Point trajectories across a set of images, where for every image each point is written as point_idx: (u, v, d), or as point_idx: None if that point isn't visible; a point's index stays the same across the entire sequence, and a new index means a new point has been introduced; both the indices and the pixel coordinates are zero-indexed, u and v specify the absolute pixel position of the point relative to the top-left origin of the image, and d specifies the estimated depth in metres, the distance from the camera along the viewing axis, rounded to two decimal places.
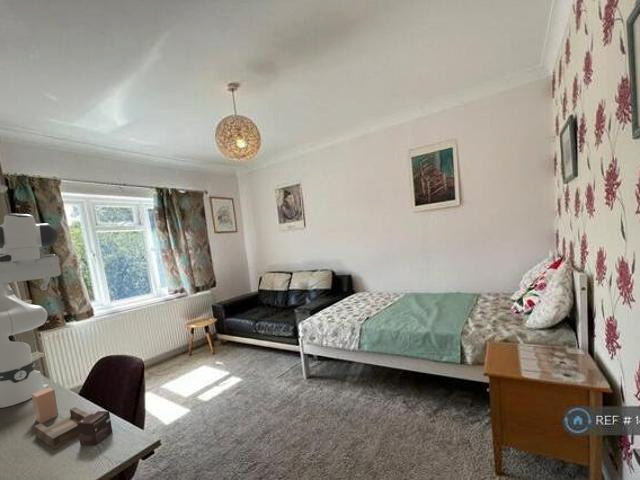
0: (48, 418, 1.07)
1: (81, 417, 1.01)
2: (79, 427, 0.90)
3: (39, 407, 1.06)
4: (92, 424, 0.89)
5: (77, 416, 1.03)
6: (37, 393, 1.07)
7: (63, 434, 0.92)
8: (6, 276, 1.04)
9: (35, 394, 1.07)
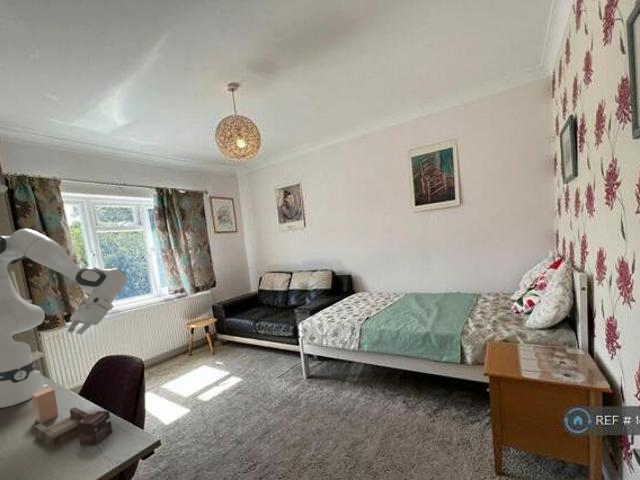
0: (48, 418, 1.07)
1: (81, 417, 1.01)
2: (79, 427, 0.90)
3: (39, 407, 1.06)
4: (92, 424, 0.89)
5: (77, 416, 1.03)
6: (37, 393, 1.07)
7: (63, 434, 0.92)
8: None
9: (35, 394, 1.07)
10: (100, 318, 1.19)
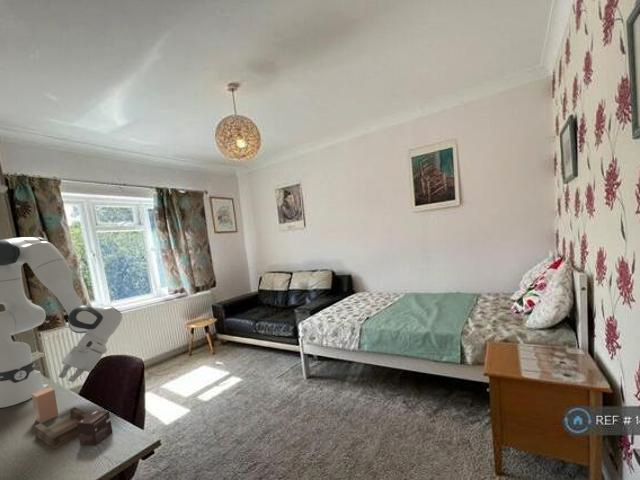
0: (48, 418, 1.07)
1: (81, 417, 1.01)
2: (79, 427, 0.90)
3: (39, 407, 1.06)
4: (92, 424, 0.89)
5: (77, 416, 1.03)
6: (37, 393, 1.07)
7: (63, 434, 0.92)
8: None
9: (35, 394, 1.07)
10: (93, 364, 1.14)
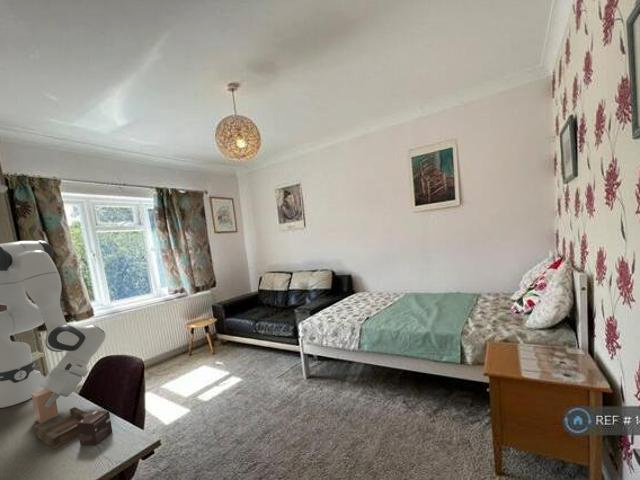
0: (48, 418, 1.07)
1: (81, 417, 1.01)
2: (79, 427, 0.90)
3: (39, 407, 1.06)
4: (92, 424, 0.89)
5: (77, 416, 1.03)
6: (37, 393, 1.07)
7: (63, 434, 0.92)
8: None
9: (35, 394, 1.07)
10: (72, 389, 1.08)
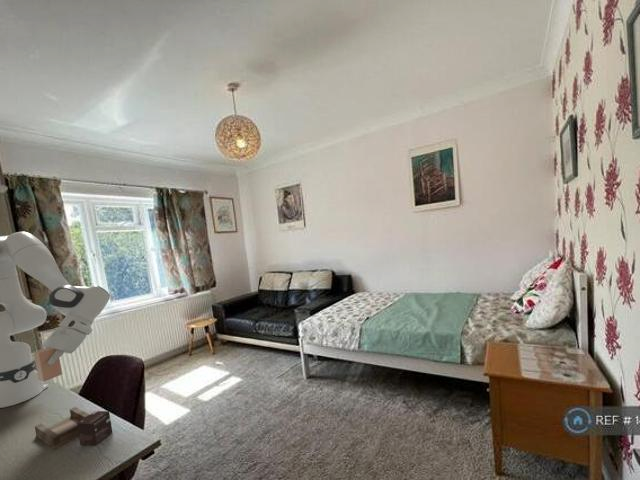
0: (51, 376, 1.02)
1: (81, 417, 1.01)
2: (79, 427, 0.90)
3: (42, 364, 1.00)
4: (92, 424, 0.89)
5: (77, 416, 1.03)
6: (40, 351, 1.02)
7: (63, 434, 0.92)
8: None
9: (37, 351, 1.02)
10: (76, 345, 1.03)
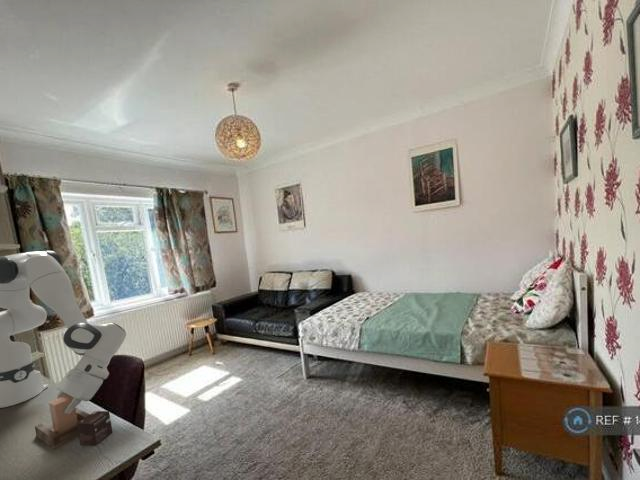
0: None
1: (81, 417, 1.01)
2: (79, 427, 0.90)
3: (58, 417, 0.95)
4: (92, 424, 0.89)
5: (77, 416, 1.03)
6: (55, 402, 0.97)
7: (63, 434, 0.92)
8: None
9: (53, 402, 0.97)
10: (93, 392, 0.98)
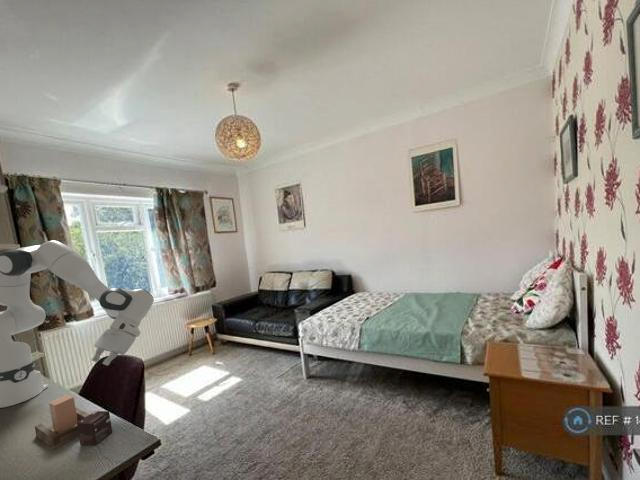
0: None
1: (81, 417, 1.01)
2: (79, 427, 0.90)
3: (58, 417, 0.95)
4: (92, 424, 0.89)
5: (77, 416, 1.03)
6: (55, 402, 0.97)
7: (63, 434, 0.92)
8: None
9: (53, 402, 0.97)
10: (127, 347, 1.08)
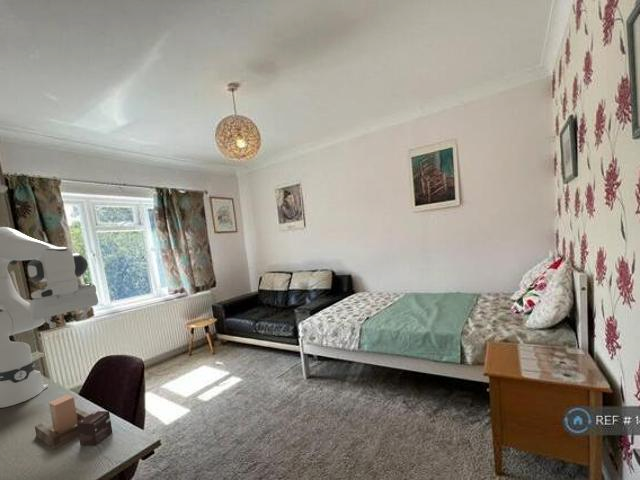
0: None
1: (81, 417, 1.01)
2: (79, 427, 0.90)
3: (58, 417, 0.95)
4: (92, 424, 0.89)
5: (77, 416, 1.03)
6: (55, 402, 0.97)
7: (63, 434, 0.92)
8: (48, 310, 1.07)
9: (53, 402, 0.97)
10: (32, 312, 1.03)
